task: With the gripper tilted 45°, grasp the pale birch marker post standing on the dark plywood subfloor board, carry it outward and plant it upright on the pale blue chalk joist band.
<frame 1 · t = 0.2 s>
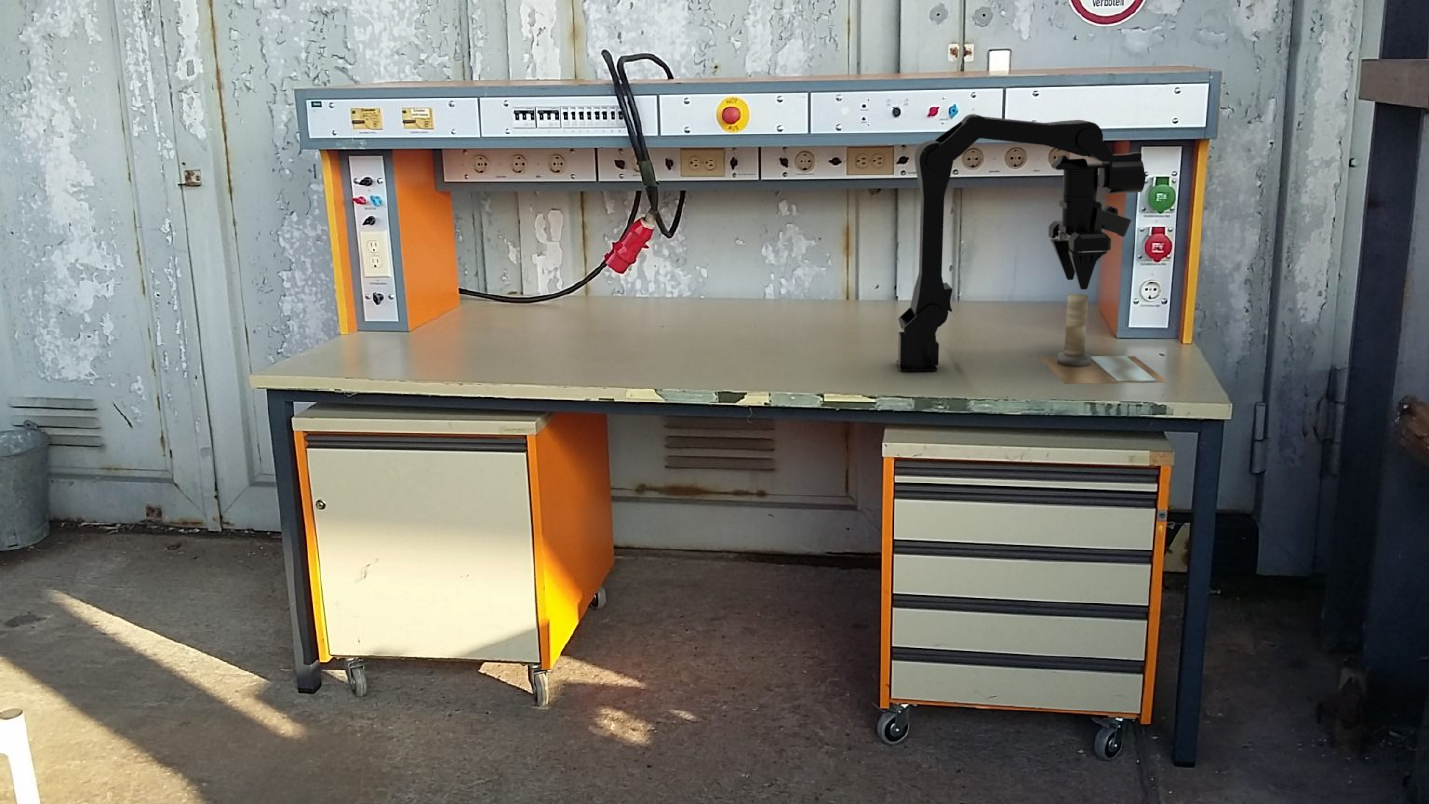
hand: (1076, 284, 215), 15 cm above the workbench, fingers open, 9 cm apart
marker post: (1073, 363, 215), point 1 cm above the workbench, touching subfloor board
subfloor board: (1100, 376, 211), on the workbench
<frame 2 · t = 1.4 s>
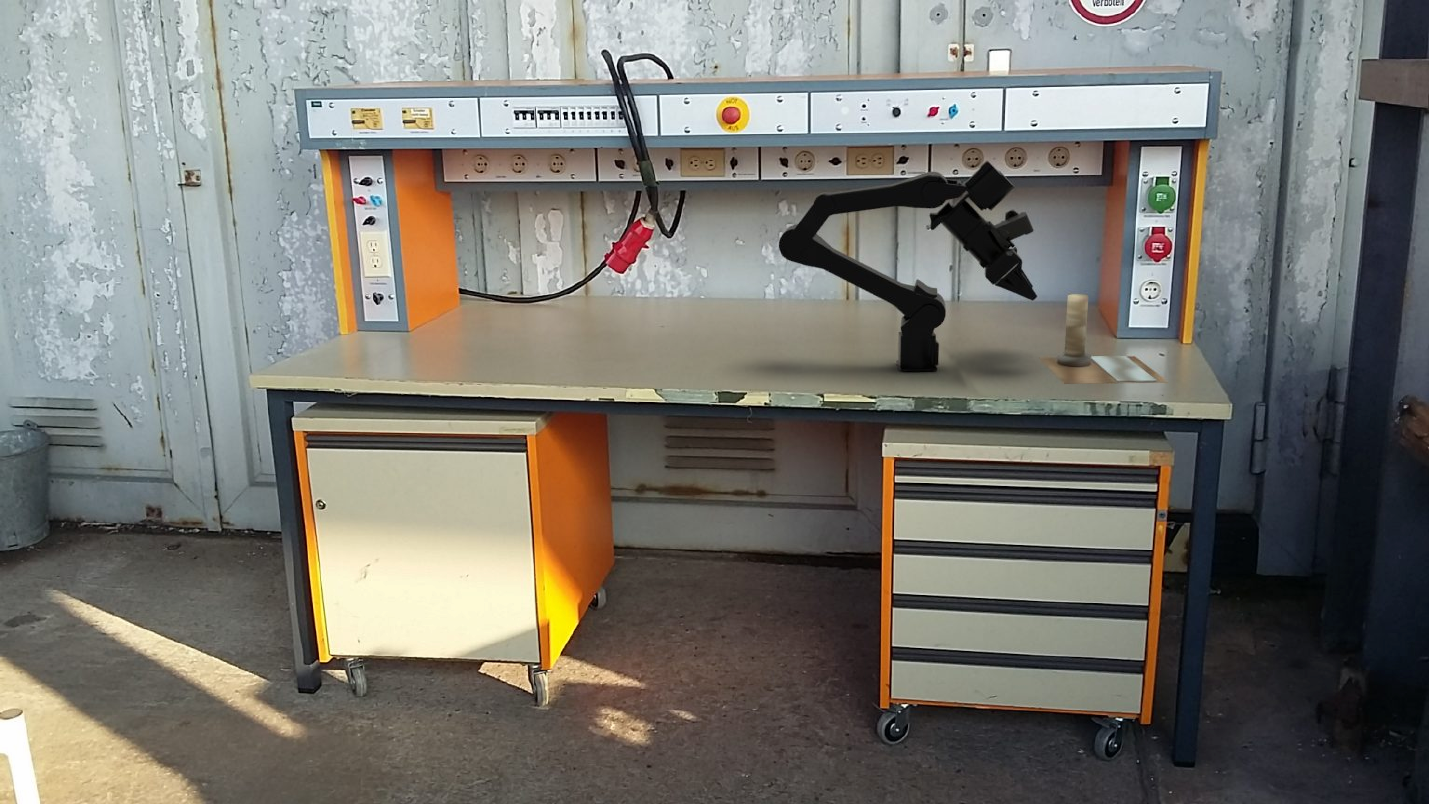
hand: (1033, 293, 213), 14 cm above the workbench, fingers open, 9 cm apart
nothing on the workbench moved.
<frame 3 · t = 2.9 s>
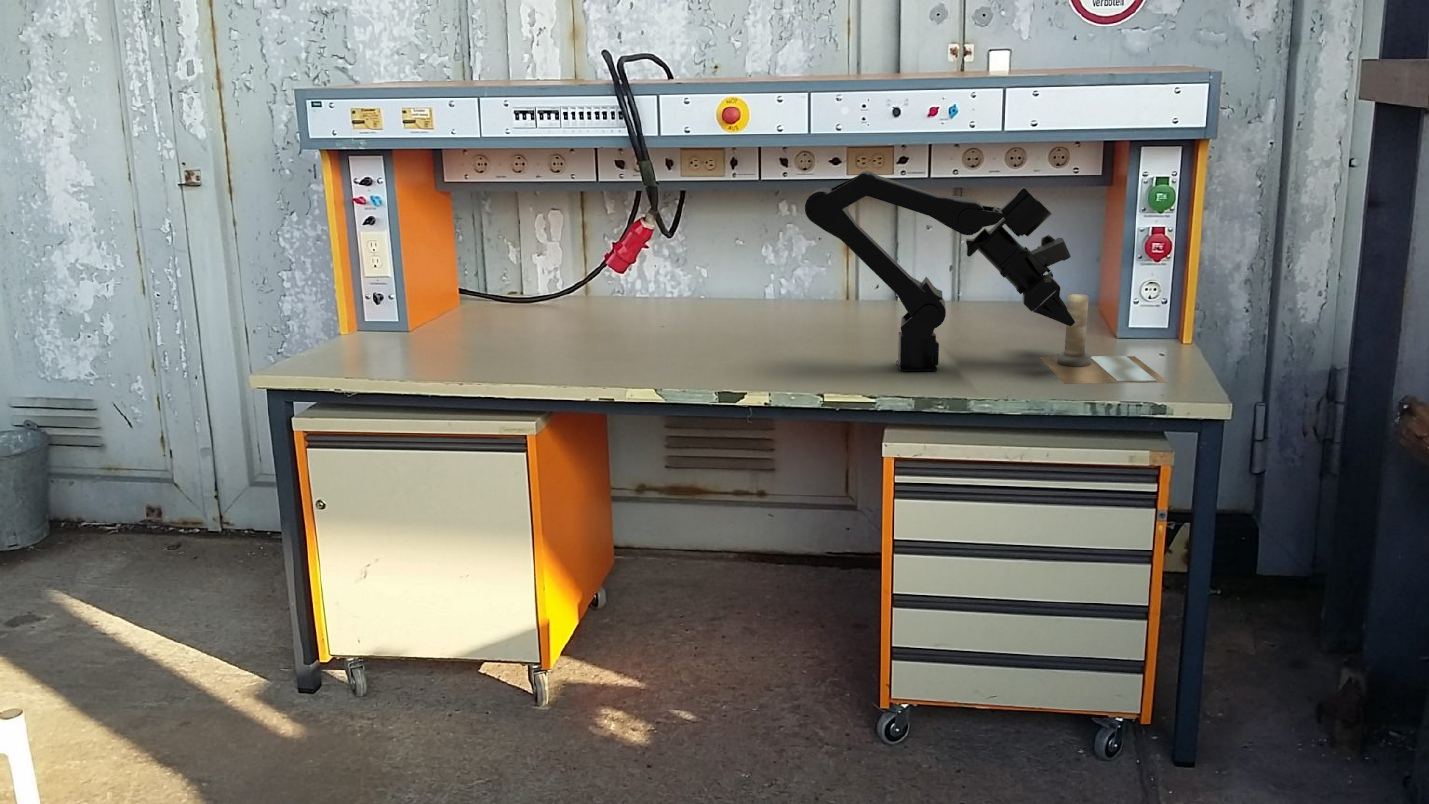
hand: (1070, 318, 213), 9 cm above the workbench, fingers open, 9 cm apart
nothing on the workbench moved.
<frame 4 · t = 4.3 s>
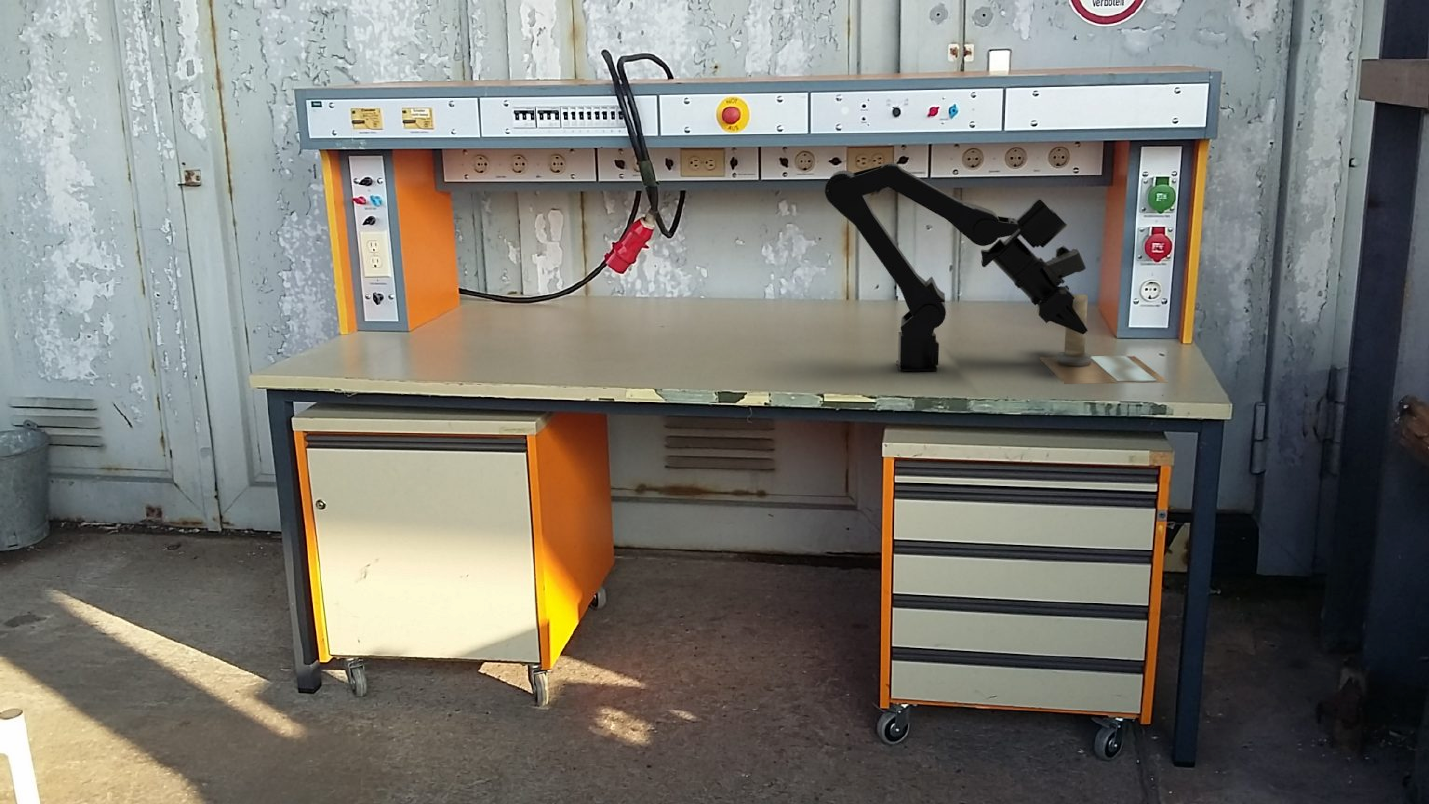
hand: (1084, 330, 213), 7 cm above the workbench, fingers closed on marker post, 3 cm apart
marker post: (1073, 363, 215), point 1 cm above the workbench, touching gripper, subfloor board
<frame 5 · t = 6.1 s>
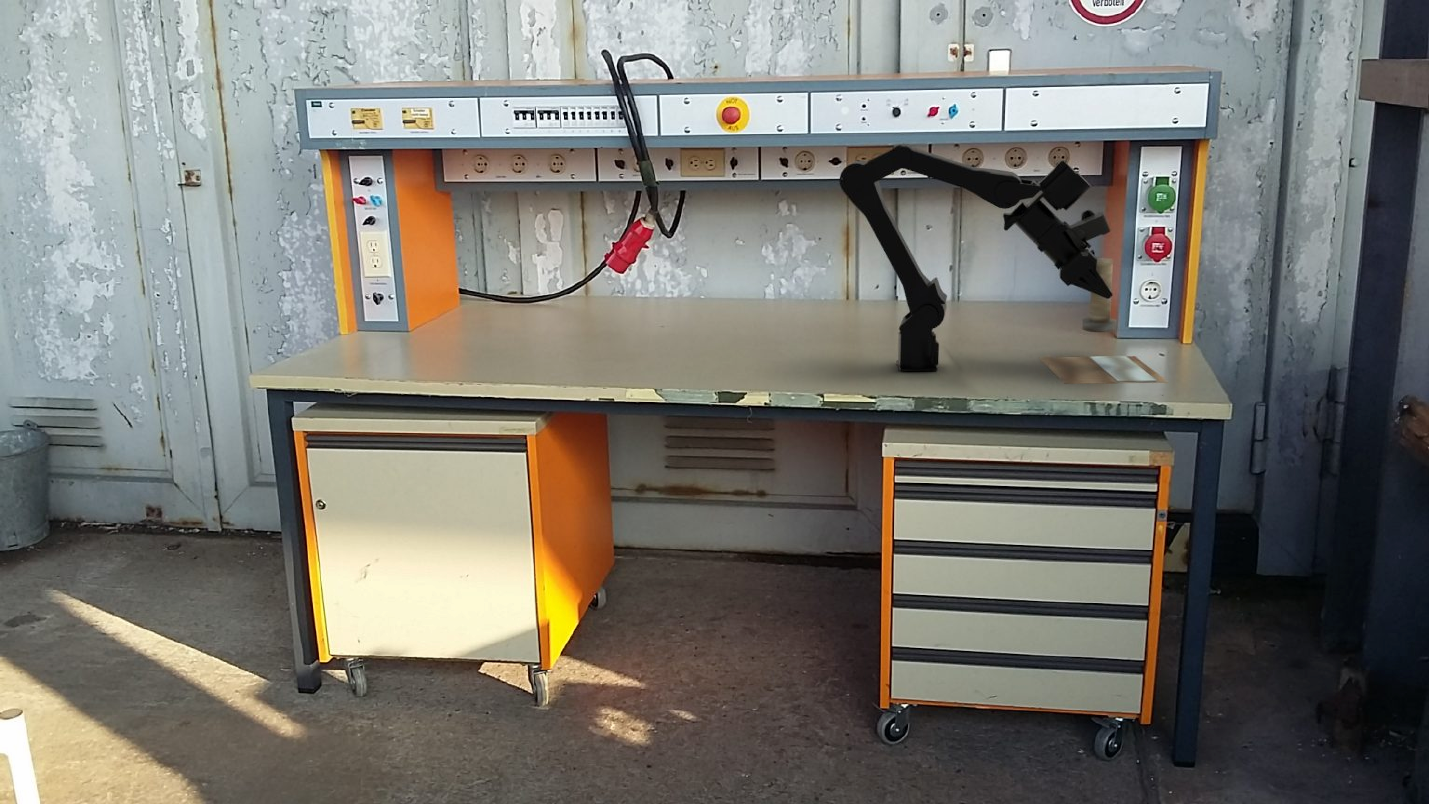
hand: (1109, 294, 208), 14 cm above the workbench, fingers closed on marker post, 3 cm apart
marker post: (1099, 328, 210), point 8 cm above the workbench, touching gripper
when the fingers open (9 cm above the workbench, at t = 7.8 s): marker post drops 1 cm, resting on subfloor board.
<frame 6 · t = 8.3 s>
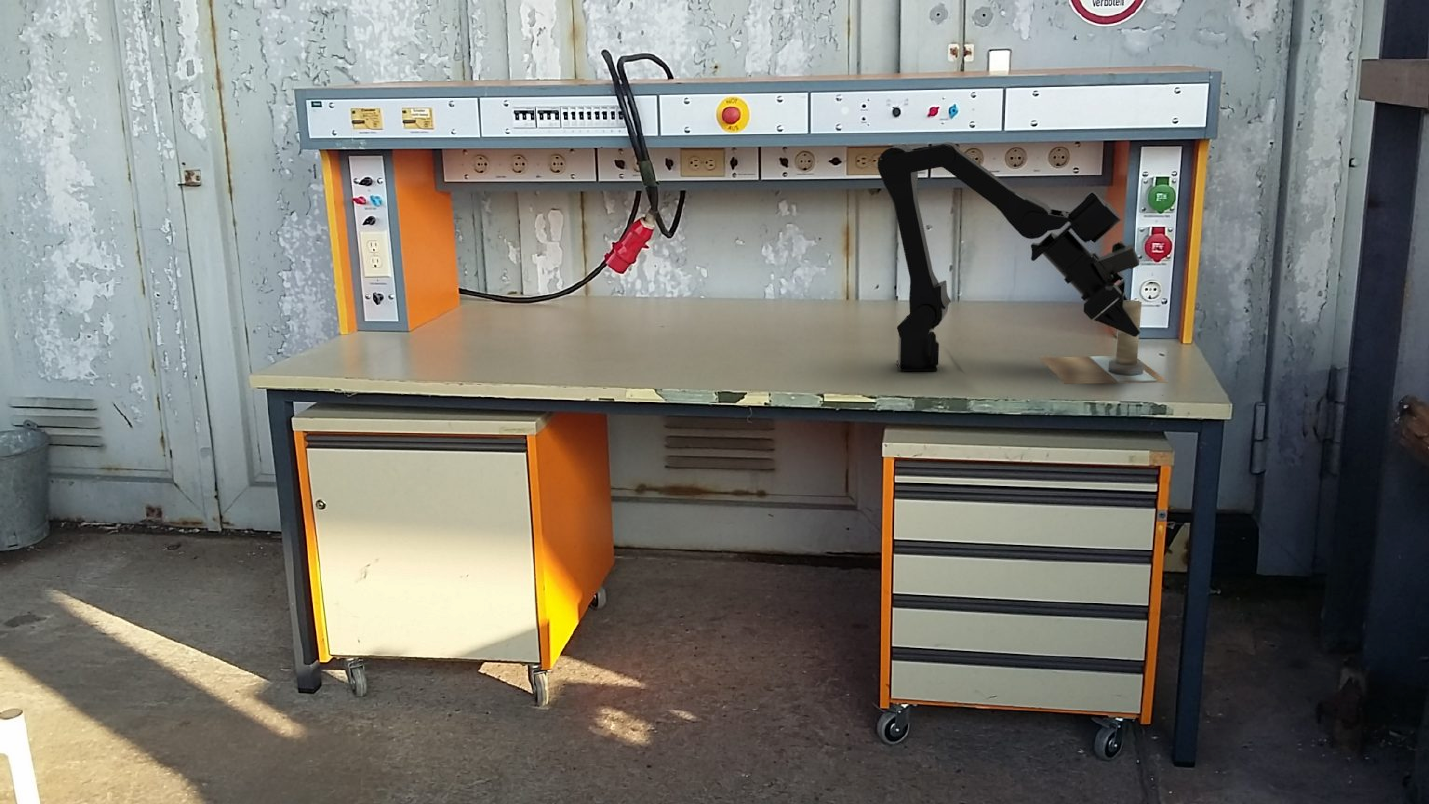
hand: (1138, 329, 205), 9 cm above the workbench, fingers open, 9 cm apart
marker post: (1125, 371, 208), point 1 cm above the workbench, touching subfloor board
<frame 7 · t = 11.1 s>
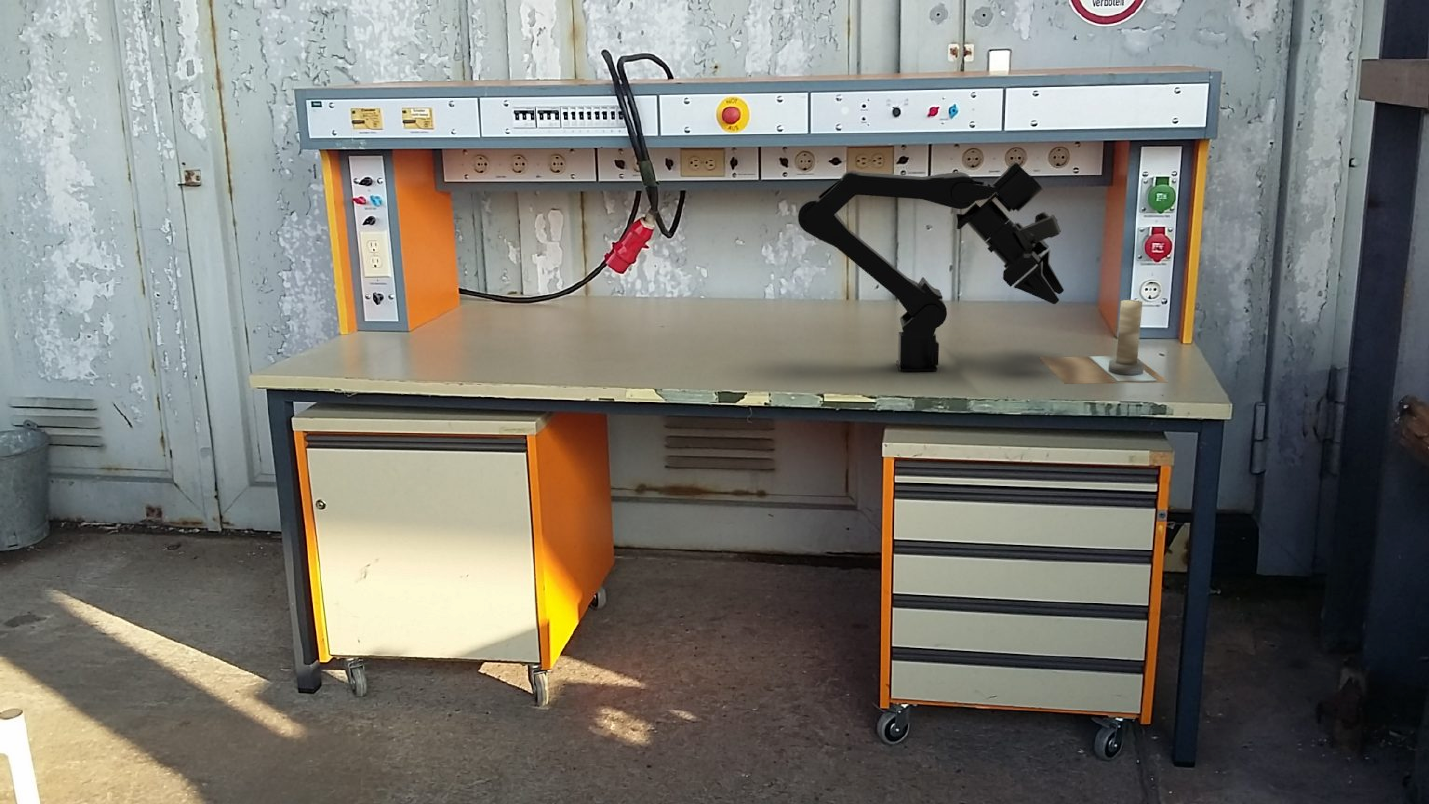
hand: (1059, 297, 211), 13 cm above the workbench, fingers open, 9 cm apart
nothing on the workbench moved.
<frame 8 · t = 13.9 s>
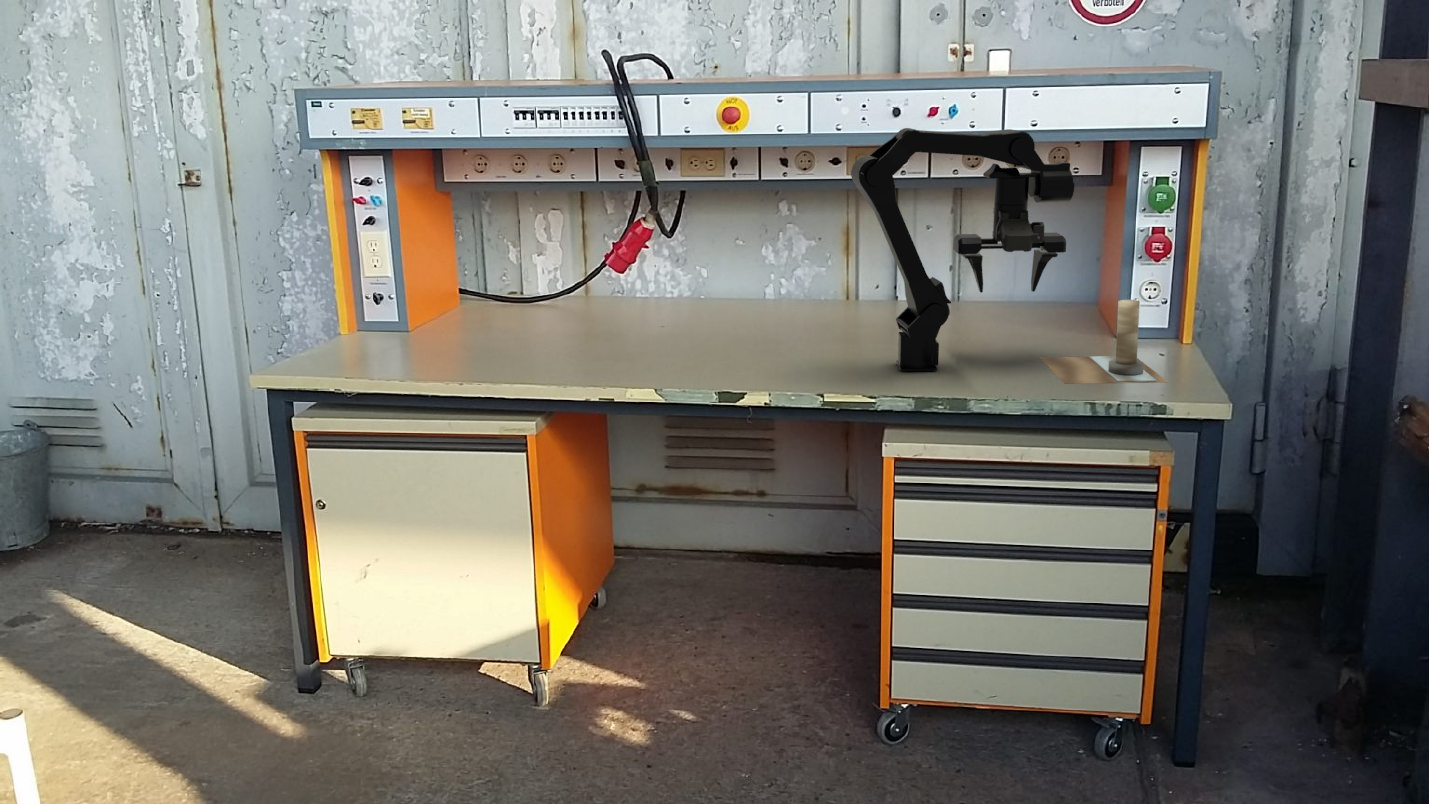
hand: (1006, 291, 218), 13 cm above the workbench, fingers open, 9 cm apart
nothing on the workbench moved.
at the end: marker post 0.1 cm from the target spot, point 1.5 cm above the workbench; marker post tilted 2°; the gripper is holding nothing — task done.
